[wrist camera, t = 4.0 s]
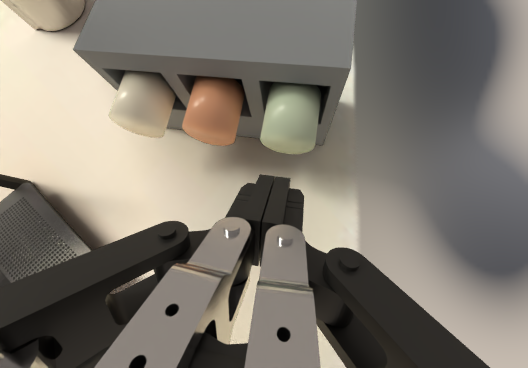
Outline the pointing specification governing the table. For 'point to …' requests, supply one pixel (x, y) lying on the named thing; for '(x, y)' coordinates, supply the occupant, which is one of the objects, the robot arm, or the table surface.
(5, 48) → the table surface
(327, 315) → the robot arm
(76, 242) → the router
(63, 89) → the table surface
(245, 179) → the table surface
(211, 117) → the terracotta button
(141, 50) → the button panel
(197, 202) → the table surface
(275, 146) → the sage button
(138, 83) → the cream button
